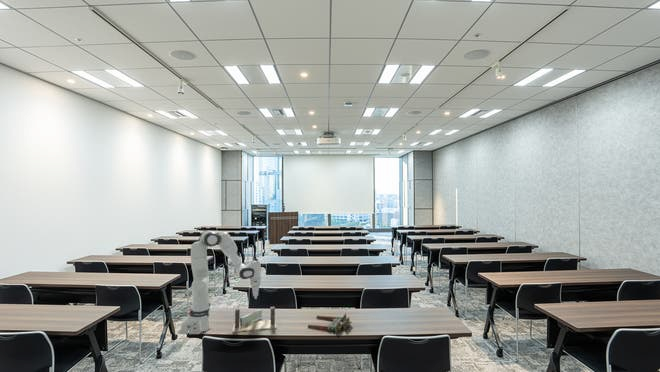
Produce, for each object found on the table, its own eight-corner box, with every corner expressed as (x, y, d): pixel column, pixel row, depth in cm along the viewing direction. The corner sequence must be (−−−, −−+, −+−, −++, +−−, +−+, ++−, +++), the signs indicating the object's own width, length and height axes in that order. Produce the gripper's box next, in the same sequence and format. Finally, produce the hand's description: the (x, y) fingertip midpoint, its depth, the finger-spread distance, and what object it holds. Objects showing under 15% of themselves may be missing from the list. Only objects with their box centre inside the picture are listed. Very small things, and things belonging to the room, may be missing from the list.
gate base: (232, 332, 224) (232, 314, 224) (234, 324, 237) (234, 307, 237) (276, 328, 231) (276, 310, 231) (275, 320, 244) (275, 304, 244)
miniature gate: (318, 311, 254) (354, 313, 245) (319, 318, 254) (355, 321, 244) (305, 325, 229) (344, 328, 219) (306, 332, 229) (345, 336, 219)
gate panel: (241, 326, 231) (241, 318, 231) (239, 325, 232) (239, 318, 232) (261, 316, 249) (261, 309, 249) (260, 316, 249) (260, 309, 250)
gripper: (251, 277, 262) (251, 294, 262) (251, 284, 242) (251, 302, 242) (259, 277, 263) (259, 293, 263) (259, 284, 243) (259, 302, 243)
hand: (255, 298), depth 252 cm, fingers closed
